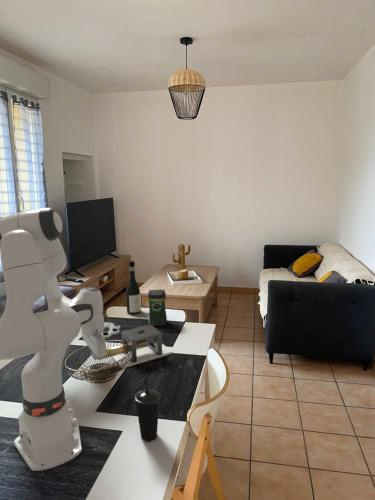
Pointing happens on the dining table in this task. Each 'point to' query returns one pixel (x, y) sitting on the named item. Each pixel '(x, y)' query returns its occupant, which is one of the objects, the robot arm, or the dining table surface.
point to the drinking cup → (148, 412)
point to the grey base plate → (145, 355)
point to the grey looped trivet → (111, 329)
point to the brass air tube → (123, 349)
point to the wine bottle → (133, 293)
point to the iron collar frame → (148, 333)
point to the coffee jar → (157, 307)
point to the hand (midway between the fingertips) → (94, 358)
